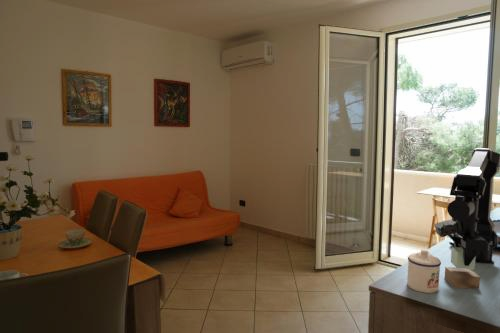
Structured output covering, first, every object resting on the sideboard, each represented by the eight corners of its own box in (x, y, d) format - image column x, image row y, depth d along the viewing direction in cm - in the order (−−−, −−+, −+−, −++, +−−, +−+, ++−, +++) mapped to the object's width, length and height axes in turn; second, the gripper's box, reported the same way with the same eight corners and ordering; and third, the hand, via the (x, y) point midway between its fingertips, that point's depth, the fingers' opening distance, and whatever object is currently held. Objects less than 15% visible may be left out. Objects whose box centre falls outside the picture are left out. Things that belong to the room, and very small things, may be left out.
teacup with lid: (432, 296, 102) (435, 258, 101) (401, 286, 109) (403, 250, 107) (446, 284, 110) (449, 248, 109) (416, 275, 117) (418, 241, 116)
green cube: (467, 263, 113) (468, 247, 112) (474, 269, 108) (475, 253, 107) (450, 261, 114) (451, 246, 113) (456, 267, 109) (457, 252, 108)
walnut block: (466, 279, 114) (467, 267, 114) (479, 289, 107) (480, 276, 107) (444, 278, 115) (445, 267, 115) (455, 288, 108) (456, 276, 108)
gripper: (428, 205, 119) (426, 250, 121) (449, 220, 101) (445, 272, 103) (464, 207, 117) (461, 252, 119) (492, 222, 99) (487, 275, 101)
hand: (462, 262), depth 110 cm, fingers closed on green cube, 5 cm apart
